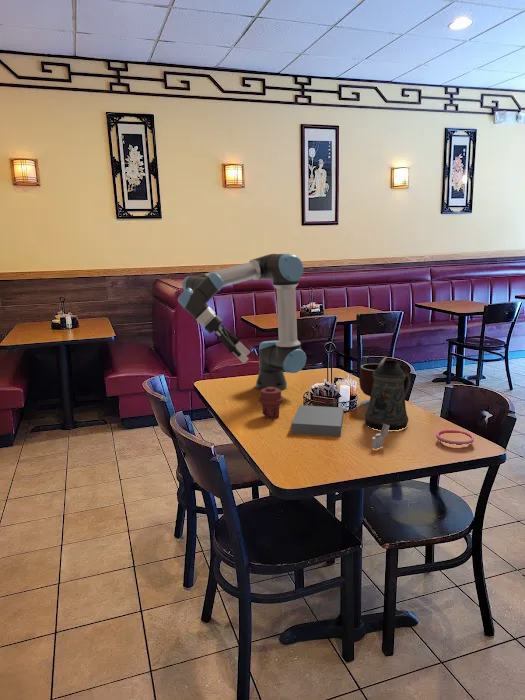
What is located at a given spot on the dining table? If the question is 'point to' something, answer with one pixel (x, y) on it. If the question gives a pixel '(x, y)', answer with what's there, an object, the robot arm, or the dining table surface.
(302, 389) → the dining table surface
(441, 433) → the pink torus ring
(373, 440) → the lighter
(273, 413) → the mechanical component
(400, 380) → the beer stein
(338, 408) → the plate
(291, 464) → the dining table surface
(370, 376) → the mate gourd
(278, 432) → the dining table surface
